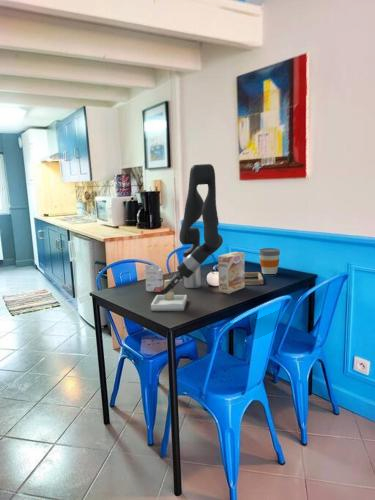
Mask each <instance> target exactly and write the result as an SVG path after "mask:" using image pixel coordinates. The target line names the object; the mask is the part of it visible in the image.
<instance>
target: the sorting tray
mask: <svg viewBox="0 0 375 500" xmlns="http://www.w3.org/2000/svg"><path fill="white" fill-rule="evenodd" d="M187 296H188V295H187V294H174V300H171V301H167V300H165V294H156V296H155V297H154V298H153V300H152V302H151V303H150V311H151V312H172V311H173V312H184V311H185V308H186V306H187V305H186V304H187V302H188V298H187Z"/></svg>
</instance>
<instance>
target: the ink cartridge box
mask: <svg viewBox="0 0 375 500" xmlns="http://www.w3.org/2000/svg"><path fill="white" fill-rule="evenodd" d="M144 268H145V269H144V273H145V274H144V276H145V290H146V292H149V293H150V292H153V293H154V292H155V293H161V292H163V290H164V278H163V277H164V276H163V269H160V267H159V265H157V264H156V265H155V264H145V265H144Z"/></svg>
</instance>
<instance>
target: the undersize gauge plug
mask: <svg viewBox="0 0 375 500" xmlns="http://www.w3.org/2000/svg"><path fill="white" fill-rule="evenodd" d="M170 282H171V279H165V280H163V290H164V289H165V288H166V287H167V286H168V284H169V283H170ZM171 285H172V286H173V284H171ZM174 288H175V286H174V287H173V289H170V290H169V292H168V293H167V294H165V293H164V295H165V300H167V301H171V300H174V295H175V289H174Z"/></svg>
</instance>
